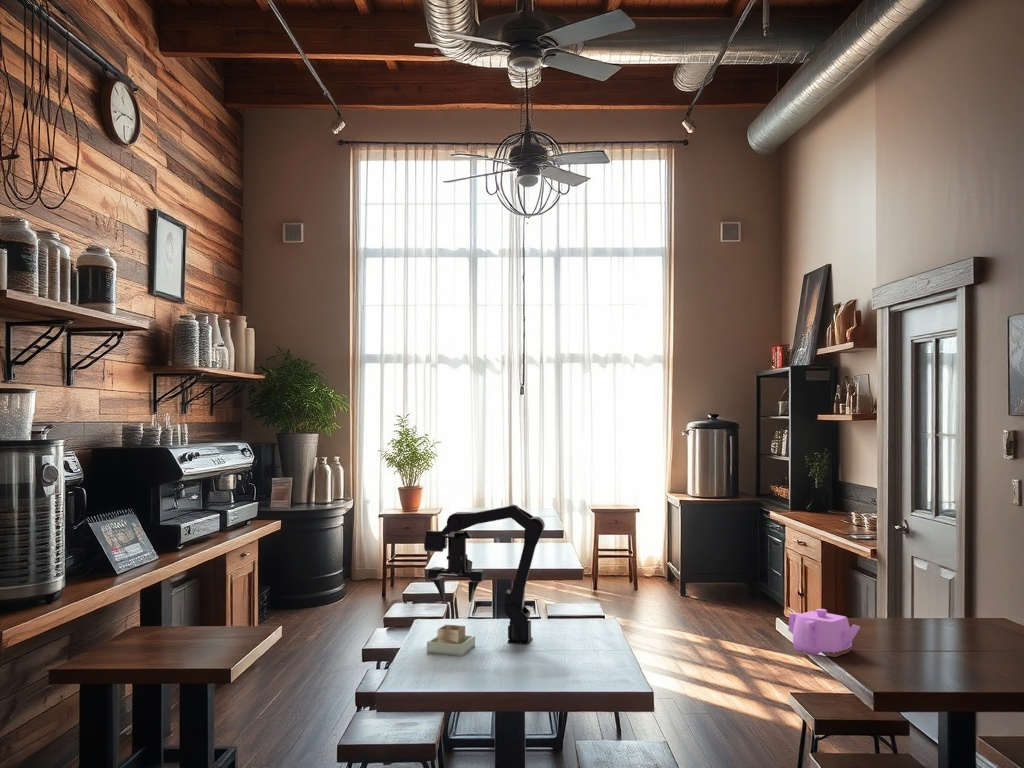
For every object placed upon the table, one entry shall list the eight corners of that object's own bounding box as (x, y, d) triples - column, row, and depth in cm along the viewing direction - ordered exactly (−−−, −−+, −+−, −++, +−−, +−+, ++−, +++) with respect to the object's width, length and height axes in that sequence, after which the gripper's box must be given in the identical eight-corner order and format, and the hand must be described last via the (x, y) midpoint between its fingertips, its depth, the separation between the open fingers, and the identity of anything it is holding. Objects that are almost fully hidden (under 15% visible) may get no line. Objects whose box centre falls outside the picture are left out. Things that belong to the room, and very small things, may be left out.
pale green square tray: (475, 646, 252) (475, 635, 252) (461, 656, 241) (461, 645, 242) (441, 643, 255) (441, 633, 256) (426, 652, 245) (427, 642, 245)
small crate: (465, 645, 251) (465, 625, 251) (457, 651, 244) (457, 630, 245) (445, 644, 253) (445, 624, 253) (437, 649, 246) (437, 629, 247)
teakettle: (785, 643, 255) (785, 603, 256) (841, 643, 254) (840, 603, 255) (802, 658, 238) (801, 615, 239) (862, 659, 237) (861, 616, 238)
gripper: (492, 549, 267) (492, 598, 266) (440, 547, 273) (439, 594, 272) (480, 554, 257) (480, 605, 256) (426, 552, 262) (426, 601, 261)
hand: (456, 601), depth 261 cm, fingers open, 9 cm apart
